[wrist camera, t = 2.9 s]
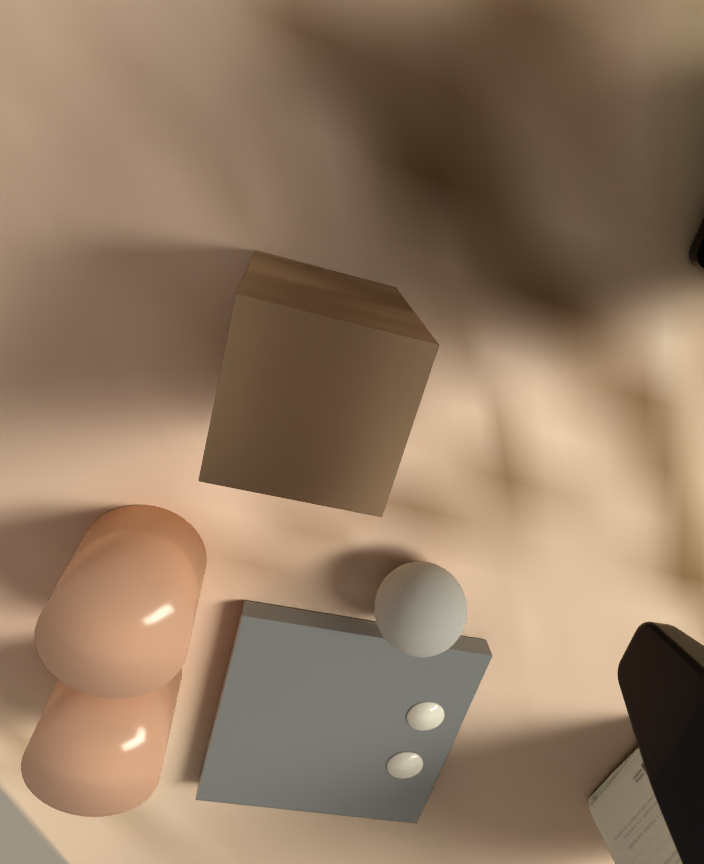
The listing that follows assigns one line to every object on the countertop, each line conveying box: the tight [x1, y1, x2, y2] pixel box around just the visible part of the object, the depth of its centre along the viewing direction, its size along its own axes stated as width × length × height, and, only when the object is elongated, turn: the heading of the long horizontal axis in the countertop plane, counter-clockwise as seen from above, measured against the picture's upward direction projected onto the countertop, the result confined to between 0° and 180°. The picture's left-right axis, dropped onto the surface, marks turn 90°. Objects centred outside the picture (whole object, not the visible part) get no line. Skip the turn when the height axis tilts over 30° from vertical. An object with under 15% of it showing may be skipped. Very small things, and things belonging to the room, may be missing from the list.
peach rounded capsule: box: [35, 505, 207, 699], centre depth 19 cm, size 4×4×4 cm
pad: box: [196, 600, 492, 823], centre depth 24 cm, size 9×9×1 cm
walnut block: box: [199, 251, 439, 517], centre depth 15 cm, size 4×4×6 cm
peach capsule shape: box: [21, 668, 182, 817], centre depth 21 cm, size 4×4×4 cm
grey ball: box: [374, 561, 467, 657], centre depth 20 cm, size 3×3×3 cm
